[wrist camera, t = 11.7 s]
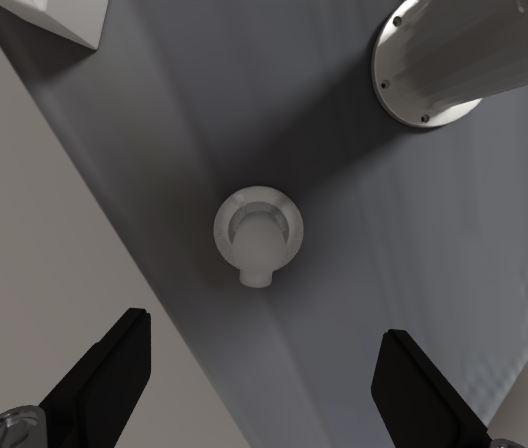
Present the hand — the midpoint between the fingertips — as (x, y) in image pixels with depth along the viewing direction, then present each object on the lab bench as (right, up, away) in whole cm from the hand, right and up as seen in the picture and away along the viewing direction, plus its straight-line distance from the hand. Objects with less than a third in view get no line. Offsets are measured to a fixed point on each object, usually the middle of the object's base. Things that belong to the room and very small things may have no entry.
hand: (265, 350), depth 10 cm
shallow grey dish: (-1, +4, +20) cm, 21 cm away
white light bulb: (-1, +4, +19) cm, 19 cm away
